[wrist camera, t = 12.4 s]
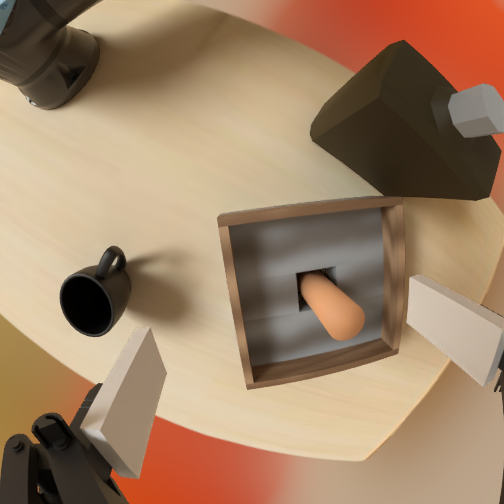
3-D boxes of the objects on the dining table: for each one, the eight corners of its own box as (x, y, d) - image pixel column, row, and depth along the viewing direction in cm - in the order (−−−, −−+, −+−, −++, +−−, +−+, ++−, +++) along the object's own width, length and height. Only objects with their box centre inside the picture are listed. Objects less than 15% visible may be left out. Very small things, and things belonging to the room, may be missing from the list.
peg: (294, 269, 38) (327, 308, 24) (321, 265, 38) (365, 300, 24) (296, 296, 39) (328, 344, 25) (322, 291, 39) (364, 335, 25)
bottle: (387, 201, 37) (527, 215, 13) (302, 137, 35) (407, 54, 10) (408, 160, 36) (539, 146, 12) (328, 96, 34) (431, 4, 9)
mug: (162, 256, 36) (140, 275, 27) (125, 319, 38) (100, 349, 28) (117, 223, 35) (84, 231, 26) (84, 288, 36) (52, 310, 27)
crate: (220, 213, 36) (216, 217, 28) (372, 196, 37) (402, 196, 29) (244, 357, 40) (247, 389, 32) (374, 330, 41) (398, 353, 33)
